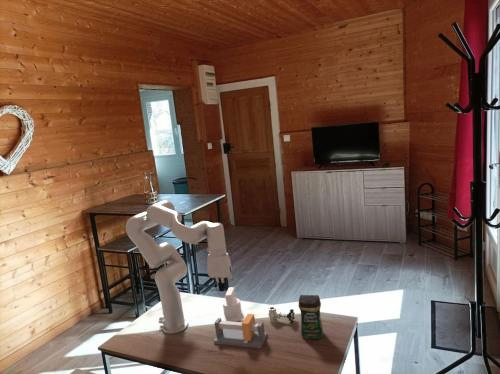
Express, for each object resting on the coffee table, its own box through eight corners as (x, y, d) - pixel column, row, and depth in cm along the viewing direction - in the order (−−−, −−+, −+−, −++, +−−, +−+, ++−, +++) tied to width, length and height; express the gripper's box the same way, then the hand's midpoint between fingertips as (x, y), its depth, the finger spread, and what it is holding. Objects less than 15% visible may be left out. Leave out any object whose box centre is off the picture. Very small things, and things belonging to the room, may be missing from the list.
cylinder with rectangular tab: (226, 308, 200) (223, 287, 198) (242, 308, 198) (239, 286, 196) (222, 317, 191) (219, 295, 189) (240, 316, 190) (236, 294, 188)
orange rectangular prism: (243, 340, 165) (241, 323, 163) (249, 329, 172) (247, 313, 171) (250, 340, 164) (247, 323, 162) (256, 330, 171) (254, 314, 170)
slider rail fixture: (214, 343, 169) (211, 326, 168) (223, 331, 178) (220, 314, 177) (260, 348, 161) (258, 330, 160) (267, 335, 171) (265, 317, 169)
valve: (267, 324, 180) (291, 326, 175) (265, 311, 179) (289, 313, 174) (271, 316, 186) (295, 319, 181) (270, 304, 185) (293, 306, 180)
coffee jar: (300, 340, 164) (296, 300, 161) (302, 329, 171) (298, 291, 168) (323, 340, 161) (319, 300, 158) (324, 330, 169) (320, 291, 166)
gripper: (198, 253, 165) (203, 293, 168) (229, 254, 159) (234, 295, 163) (206, 247, 171) (211, 285, 175) (236, 248, 166) (241, 287, 169)
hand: (222, 290), depth 169 cm, fingers closed
